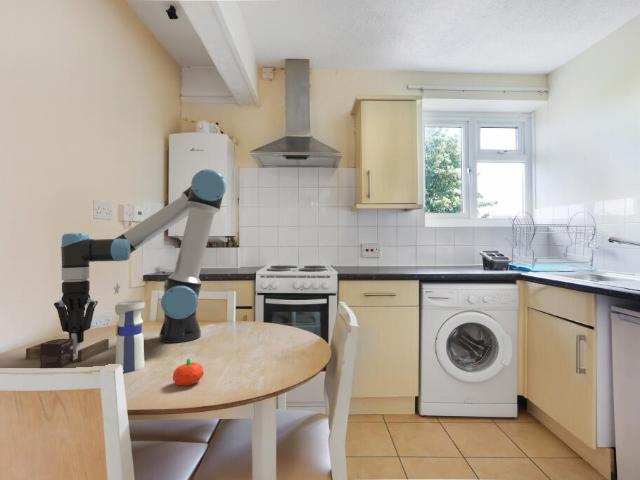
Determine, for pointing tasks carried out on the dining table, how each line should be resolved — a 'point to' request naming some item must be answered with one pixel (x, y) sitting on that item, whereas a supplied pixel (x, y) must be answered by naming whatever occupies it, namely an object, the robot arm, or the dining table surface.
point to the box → (56, 353)
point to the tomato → (188, 373)
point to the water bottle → (129, 335)
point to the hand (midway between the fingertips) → (76, 352)
